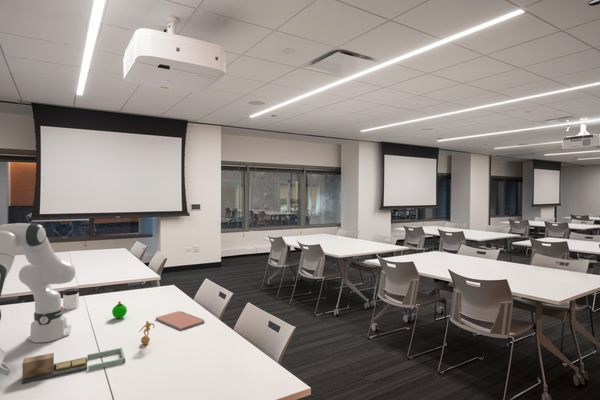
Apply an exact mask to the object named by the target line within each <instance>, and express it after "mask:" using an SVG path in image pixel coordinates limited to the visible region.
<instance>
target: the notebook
mask: <svg viewBox="0 0 600 400" xmlns="http://www.w3.org/2000/svg"><path fill="white" fill-rule="evenodd" d="M155 320H156V321H158V322H160V323H163V324H165V325H166V326H167V325H168V326H169V327H172V328H174V329H176V330H178V331H183V330H186V329H190V328H192V327H195V326H198V325H201V324H204V323H205V320H204V318H201V317H198V316H195V315H193V314H190V313H187V312H186V311H183V310H182V311H180V310H177V311H174V312H170V313H167V314H164V315H159V316H156V317H155Z"/></svg>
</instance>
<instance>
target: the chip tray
mask: <svg viewBox="0 0 600 400" xmlns="http://www.w3.org/2000/svg"><path fill="white" fill-rule="evenodd" d="M119 353H120V356H121V358H118V359H113V360H108V361H103V362H98V363H95V364H89V365H87V371H93V370H98V369H102V368H103V369H104V368H108V367H112V366H116V365H120V364H124V363H126V356H125V354H124V351H123V347H119V348H113V349H109V350H103V351H98V352H94V353H89V354H87V356H86V357H87V360H90V359H96V358H100V357H101V358H102V357H105V356H110V355H115V354H119Z"/></svg>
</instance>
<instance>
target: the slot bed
mask: <svg viewBox="0 0 600 400" xmlns="http://www.w3.org/2000/svg"><path fill="white" fill-rule="evenodd" d="M83 358H86V365H84V366H80V367H75V368H72V361H74V360H78V359H83ZM87 360H88V359H87V356H86V357H81V358H76V359H70V360H66V361H61V362H56V363H54V372H52V373H47V374H42V375H38V376H33V377H29V378H24V379H23V378H21V385H26V384H31V383H35V382H39V381H44V380H48V379H53V378H57V377H62V376H66V375H71V374H76V373H80V372H84V371H88V361H87ZM69 361H71V368H70V369H66V370H61V371H56V366H57V364H59V363H64V362H69Z"/></svg>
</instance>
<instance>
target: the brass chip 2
mask: <svg viewBox="0 0 600 400" xmlns="http://www.w3.org/2000/svg"><path fill="white" fill-rule="evenodd" d="M82 358H83V359H80V358H77V359H78V360H75V359H73V360H74V361H72V368H75V367H80V366H84V365H86V358H85V357H82Z"/></svg>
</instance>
